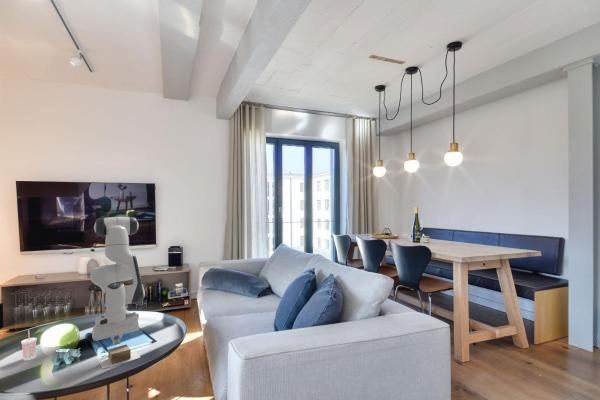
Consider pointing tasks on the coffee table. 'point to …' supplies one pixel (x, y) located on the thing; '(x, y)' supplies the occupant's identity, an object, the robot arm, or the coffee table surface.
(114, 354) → the block
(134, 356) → the pad
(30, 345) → the beverage cup
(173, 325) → the coffee table surface
